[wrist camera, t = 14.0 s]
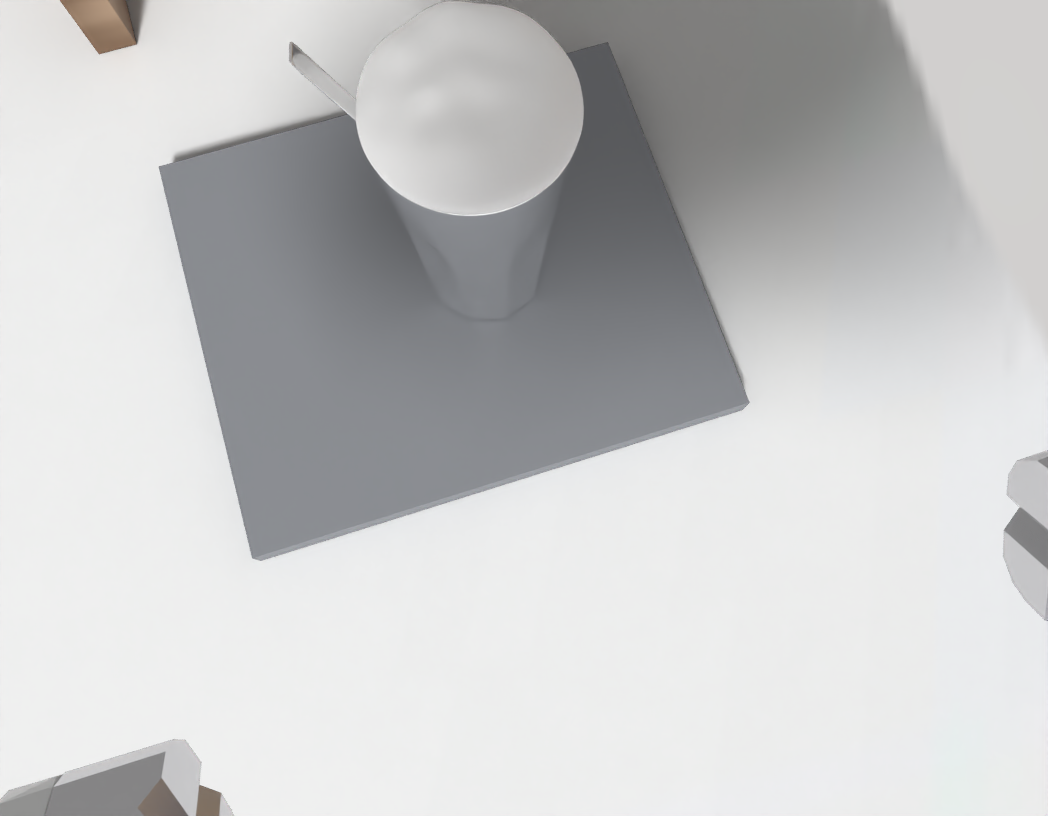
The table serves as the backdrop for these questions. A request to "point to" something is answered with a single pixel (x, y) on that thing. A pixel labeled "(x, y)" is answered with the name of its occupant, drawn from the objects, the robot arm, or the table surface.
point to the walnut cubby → (103, 22)
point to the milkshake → (468, 144)
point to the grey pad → (432, 328)
